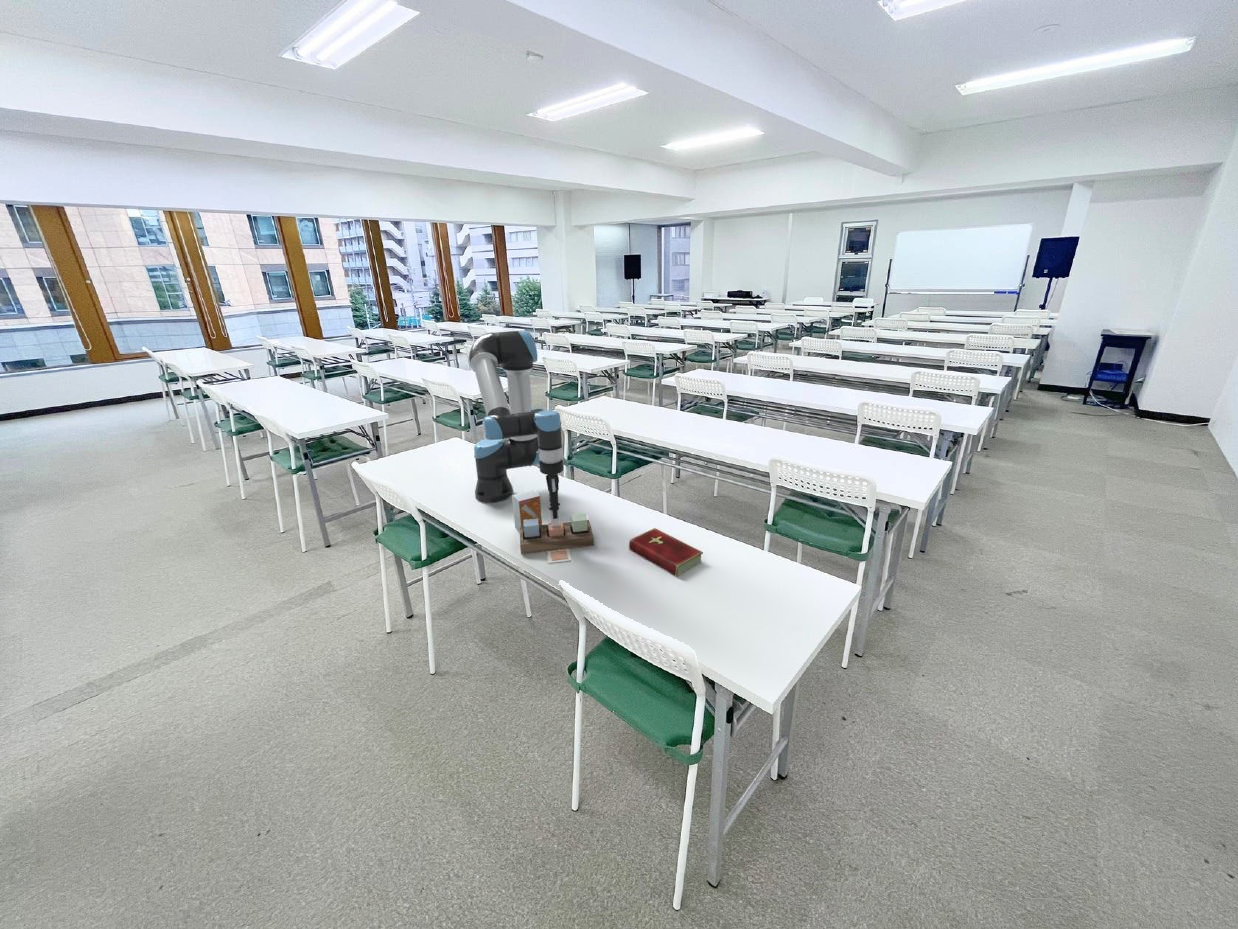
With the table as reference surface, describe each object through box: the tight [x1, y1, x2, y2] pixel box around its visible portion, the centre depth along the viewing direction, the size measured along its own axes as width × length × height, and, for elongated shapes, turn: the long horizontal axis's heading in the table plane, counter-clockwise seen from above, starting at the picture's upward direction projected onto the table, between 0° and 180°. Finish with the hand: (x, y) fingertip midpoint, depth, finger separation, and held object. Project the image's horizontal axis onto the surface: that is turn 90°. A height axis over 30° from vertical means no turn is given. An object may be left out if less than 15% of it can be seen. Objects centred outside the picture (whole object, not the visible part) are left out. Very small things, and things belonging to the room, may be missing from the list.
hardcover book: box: [628, 527, 704, 577], centre depth 158 cm, size 12×21×4 cm, turn 41°
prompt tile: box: [546, 549, 572, 564], centre depth 159 cm, size 7×7×1 cm
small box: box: [511, 489, 543, 533], centre depth 174 cm, size 8×6×13 cm
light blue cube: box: [523, 518, 539, 537], centre depth 165 cm, size 5×5×5 cm
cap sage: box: [570, 513, 588, 532], centre depth 167 cm, size 5×5×5 cm
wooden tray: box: [519, 519, 595, 555], centre depth 167 cm, size 12×24×4 cm, turn 101°
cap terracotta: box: [547, 521, 564, 537], centre depth 167 cm, size 5×5×5 cm
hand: (555, 525), depth 166 cm, fingers closed
